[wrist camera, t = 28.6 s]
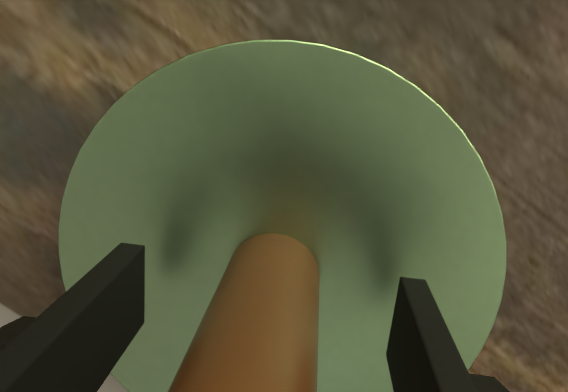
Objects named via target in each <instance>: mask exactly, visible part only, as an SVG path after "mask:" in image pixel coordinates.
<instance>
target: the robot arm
mask: <svg viewBox="0 0 568 392" xmlns="http://www.w3.org/2000/svg"><path fill="white" fill-rule="evenodd" d="M144 311H145V245H137V244H129V243H120V244H119V245H118V246H117V247H116V248H114V249H113V250H112V251H111V252H110V253H109V254H108V255H107V256H105V257H104V258H103V259H102V260H101V261H100V262H99V263H98V264H96V265H95V266H94V267H93V268H92V269H91V270H90V271H89V272H88V273H86V274H85V275H84V276H83V277H82V278H81V279H80V280H79V281H77V282H76V283H75V284H74V285H73V286H72V287H71V288H70V289H69V290H67V291H66V292H65V293H64V294H63V295H62V296H61V297H60V298H58V299H57V300H56V301H55V302H54V303H53V304H52V305H51V306H50V307H48V308H47V309H46V310H45V311H44V312H43V313H42V314H41V315H39V316H38V317H37V318H34V317H26V316H23V317H21V318H19V319H17V320H15V321H13V322H11V323H8V324H7V325H4V326H2V327H1V328H0V392H97V391H98V389H99V388H100V387H101V385H102V384H103V382H104V380H105V379H106V378H107V376H108V375H109V373H110V372H111V371H112V369H113V368H114V366H115V365H116V363H117V362H118V360H119V359H120V357H121V356H122V355H123V353H124V352H125V350H126V349H127V347H128V346H129V344H130V343H131V341H132V340H133V339H134V337H135V336H136V334H137V333H138V331H139V330H140V328H141V327H142V325H143V324H144ZM386 358H387V362H388V367H389V372H390V377H391V382H392V386H393V391H394V392H509V391H508V390H507V389H506V388H505V387H504V386H503V385H502V384H501V383H500V382H499V381H498V380H497V379H495V378H494V377H490V376H483V375H475V374H469V373H468V371H467V368H466V366H465V364H464V362H463V360H462V358H461V355H460V353H459V351H458V349H457V347H456V345H455V342H454V340H453V338H452V336H451V334H450V332H449V329H448V327H447V325H446V323H445V321H444V319H443V316H442V314H441V312H440V310H439V308H438V305H437V303H436V301H435V299H434V297H433V295H432V292H431V290H430V288H429V286H428V284H427V282H426V280H424V279H415V278H407V277H400V280H399V285H398V291H397V296H396V302H395V307H394V313H393V318H392V324H391V329H390V334H389V340H388V345H387V351H386Z"/></svg>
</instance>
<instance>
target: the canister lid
mask: <svg viewBox="0 0 568 392" xmlns="http://www.w3.org/2000/svg"><path fill="white" fill-rule="evenodd" d="M58 234H59V259H60V266H61V273H62V279H63V283H64V286H65V290H66V291H67V290H69V289H70V288H71V287H72V286H73V285H74V284H75V283H76V282H77V281H79V280H80V279H81V278H82V277H83V276H84V275H85V274H86V273H88V272H89V271H90V270H91V269H92V268H93V267H94V266H95V265H96V264H98V263H99V262H100V261H101V260H102V259H103V258H104V257H105V256H107V255H108V254H109V253H110V252H111V251H112V250H113V249H114V248H116V247H117V246H118V245H119V244H120V243H129V244H137V245H145V311H144V324H143V325H142V327H141V328H140V330H139V331H138V333H137V334H136V336H135V337H134V339H133V340H132V341H131V343H130V344H129V346H128V347H127V349H126V350H125V352H124V353H123V355H122V356H121V357H120V359H119V360H118V362H117V363H116V365H115V366H114V368H113V369H112V371H111V372H110V373H111V374H112V375H113V376H114V377H115V378H116V380H117V381H118V382H119V383H120V384H121V385H122V386H123V387H124V388H125V389H126V390H127V391H128V392H394V391H393V386H392V382H391V377H390V372H389V367H388V362H387V358H386V351H387V345H388V340H389V334H390V329H391V324H392V318H393V313H394V307H395V302H396V296H397V291H398V285H399V280H400V277H407V278H415V279H424V280H426V282H427V284H428V286H429V288H430V290H431V292H432V295H433V297H434V299H435V301H436V303H437V305H438V308H439V310H440V312H441V314H442V316H443V319H444V321H445V323H446V325H447V327H448V329H449V332H450V334H451V336H452V338H453V340H454V342H455V345H456V347H457V349H458V351H459V353H460V355H461V358H462V360H463V362H464V364H465V366H466V368H467V371H468V370H469V368H470V367H471V365H472V364H473V362H474V361H475V359H476V358H477V356H478V355H479V353H480V351H481V350H482V348H483V346H484V344H485V342H486V340H487V338H488V336H489V334H490V331H491V329H492V327H493V325H494V322H495V319H496V316H497V313H498V309H499V306H500V303H501V299H502V294H503V288H504V281H505V275H506V236H505V229H504V222H503V216H502V211H501V207H500V204H499V201H498V198H497V194H496V191H495V188H494V184H493V182H492V180H491V178H490V176H489V174H488V172H487V170H486V167H485V165H484V163H483V161H482V159H481V157H480V155H479V154H478V152H477V151H476V149H475V148H474V146H473V145H472V143H471V142H470V140H469V139H468V137H467V136H466V134H465V133H464V131H463V130H462V129H461V128H460V126H459V125H458V124H457V123H456V122H455V121H454V120H453V119H452V118H451V117H450V115H449V114H448V113H447V112H446V111H445V110H444V109H443V108H442V107H441V106H440V105H439V104H438V103H437V102H436V101H434V100H433V99H432V98H431V97H430V96H428V95H427V94H426V93H425V92H424V91H422V90H421V89H420V88H419V87H418V86H416V85H415V84H413V83H412V82H410V81H409V80H407V79H405V78H404V77H402V76H400V75H399V74H397V73H396V72H394V71H392V70H391V69H389V68H387V67H385V66H383V65H381V64H379V63H376V62H374V61H372V60H369V59H367V58H365V57H363V56H360V55H358V54H356V53H352V52H349V51H345V50H342V49H338V48H335V47H331V46H327V45H324V44H317V43H310V42H303V41H296V40H251V41H244V42H237V43H230V44H223V45H219V46H216V47H213V48H209V49H206V50H202V51H199V52H195V53H192V54H190V55H188V56H185V57H183V58H181V59H179V60H176V61H174V62H172V63H170V64H168V65H165V66H163V67H162V68H160V69H158V70H157V71H155V72H154V73H152V74H151V75H149V76H148V77H146V78H144V79H143V80H141V81H140V82H138V83H137V84H136V85H134V86H133V87H132V88H131V89H130V90H129V91H128V92H126V93H125V94H124V95H123V96H122V97H121V98H119V99H118V100H117V101H116V102H115V103H114V104H113V105H112V106H111V108H110V109H109V110H108V111H107V112H106V113H105V115H104V116H103V117H102V118H101V119H100V120H99V121H98V123H97V124H96V125H95V127H94V128H93V130H92V131H91V133H90V135H89V136H88V138H87V139H86V141H85V142H84V144H83V146H82V147H81V149H80V151H79V153H78V156H77V158H76V160H75V162H74V165H73V167H72V169H71V172H70V174H69V177H68V181H67V184H66V188H65V191H64V195H63V199H62V204H61V211H60V219H59V227H58Z"/></svg>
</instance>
